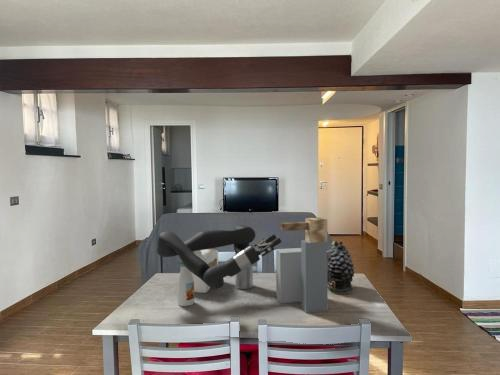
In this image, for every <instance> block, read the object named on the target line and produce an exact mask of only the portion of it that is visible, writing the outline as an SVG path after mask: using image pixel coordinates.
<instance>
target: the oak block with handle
mask: <svg viewBox="0 0 500 375" xmlns="http://www.w3.org/2000/svg"><path fill="white" fill-rule="evenodd" d="M280 231H284V232H285V231H286V232H287V231H305V239H304V240H306V241H308V242H310V243H315V242H327V243H328V218H325V217H305V221H297V222H293V221H292V222H280Z"/></svg>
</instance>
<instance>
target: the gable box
mask: <svg viewBox="0 0 500 375" xmlns="http://www.w3.org/2000/svg"><path fill="white" fill-rule="evenodd" d="M193 253H194V254H195V255H197V256H198V257H199V258H201V259H202V260H203V261H205V262H206V263H207V264H208V265H209V267H213V266H215V265H218V264H219V250H218V249H217V248H212V249H205V250H198V251H193ZM191 273H192V272H191ZM192 275H193V279H194V293H201V294H202V293H203V294H206V293H207V292H208V291H210V289H211V288H210V287H209V286H208V285H207V284H206V283H205V282H203V281H202V280H201V279H200V278H199V277H197V276H196V275H194V274H193V273H192Z"/></svg>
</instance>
